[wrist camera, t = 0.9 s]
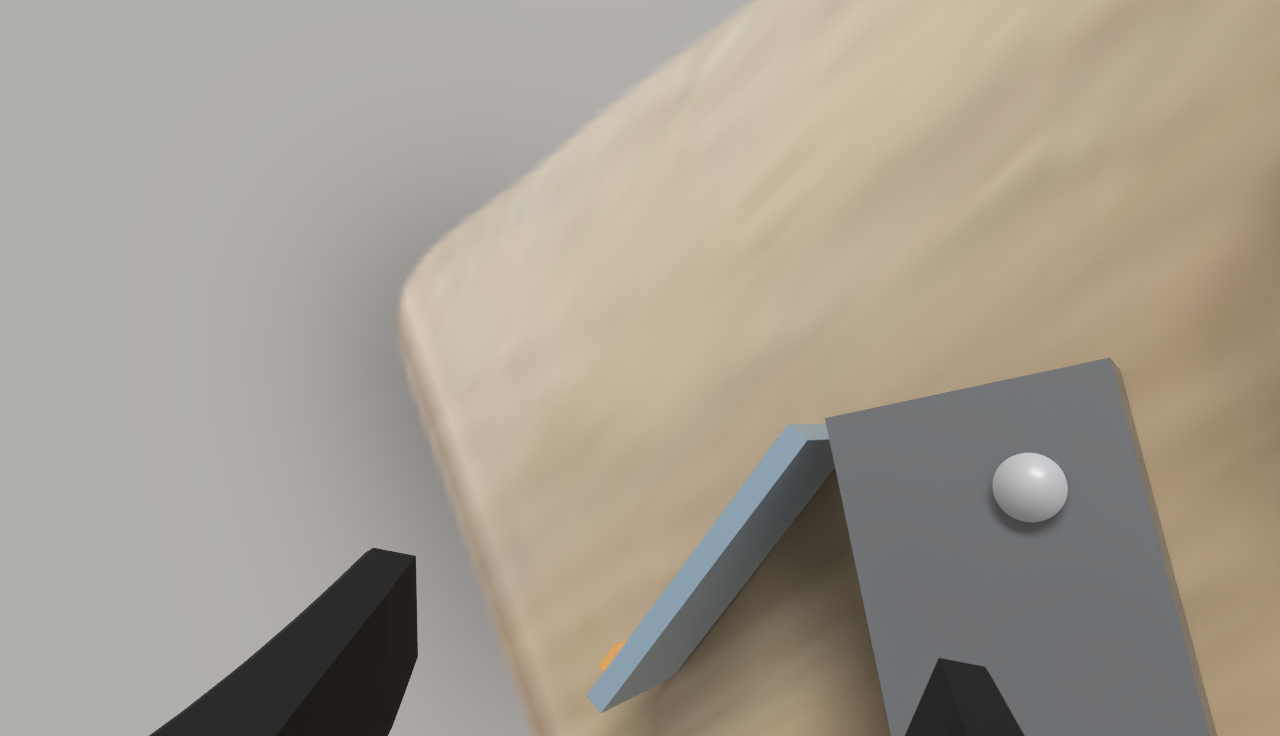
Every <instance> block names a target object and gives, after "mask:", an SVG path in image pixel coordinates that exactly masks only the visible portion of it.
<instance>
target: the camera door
mask: <svg viewBox="0 0 1280 736" xmlns="http://www.w3.org/2000/svg"><path fill="white" fill-rule="evenodd" d="M834 468H835V464H834V460H833V455H832V450H831V445H830V440H829V435H828V431H827V426H826V424H788V425H787V427H786V428H785V429H784V431H783V432H782V434H781V435H780V436H779V438H778V439H777V440H776V442H775V443H774V444H773V446H772V447H771V448H770V450H769V451H768V452H767V454H766V455H765V456H764V458H763V459H762V460H761V462H760V463H759V464H758V466H757V467H756V468H755V470H754V471H753V472H752V474H751V475H750V477H749V478H748V479H747V481H746V482H745V483H744V485H743V486H742V487H741V489H740V490H739V491H738V493H737V494H736V495H735V497H734V498H733V499H732V501H731V502H730V503H729V505H728V506H727V507H726V509H725V510H724V511H723V513H722V514H721V516H720V517H719V518H718V520H717V521H716V522H715V524H714V525H713V526H712V528H711V529H710V530H709V532H708V533H707V534H706V536H705V537H704V538H703V540H702V541H701V542H700V544H699V545H698V546H697V548H696V549H695V550H694V552H693V553H692V554H691V556H690V557H689V559H688V560H687V561H686V563H685V564H684V565H683V567H682V568H681V569H680V571H679V572H678V573H677V575H676V576H675V577H674V579H673V580H672V581H671V583H670V584H669V585H668V587H667V588H666V589H665V591H664V592H663V593H662V595H661V596H660V598H659V599H658V600H657V602H656V603H655V604H654V606H653V607H652V608H651V610H650V611H649V612H648V614H647V615H646V616H645V618H644V619H643V620H642V622H641V623H640V624H639V626H638V627H637V628H636V630H635V631H634V632H633V634H632V635H631V636H630V638H629V639H628V640H626V641H623V642H621V643H618V644H616V645H613V647H612V648H611V649H610V651H609V652H608V653H607V655H606V656H605V657H604V659H603V660H602V662H601V663H600V664H599V667H600V668H601V669H602V671H603V672H604V673H603V674H602V675H601V677H600V678H599V679H598V681H597V682H596V684H595V685H594V686H593V688H592V689H591V690H590V692H589V693H588V694H587V697H588V698H589V700H590V701H591V702H592V703H593V704H594V705H595V707H596V708H597V709H598V710H599V711H600V712H601V713H602V712H604V711H606V710H608V709H610V708H612V707H614V706H616V705H618V704H620V703H622V702H624V701H626V700H628V699H630V698H632V697H634V696H636V695H638V694H640V693H642V692H644V691H646V690H648V689H650V688H651V687H653V686H655V685H657V684H659V683H661V682H663V681H665V680H667V679H669V678H671V677H673V676H674V675H675V674H676V672H677V671H678V670H679V669H680V667H681V666H682V665H683V663H684V662H685V661H686V659H687V658H688V657H689V656H690V654H691V653H692V652H693V650H694V649H695V648H696V647H697V645H698V644H699V643H700V641H701V640H702V639H703V638H704V636H705V635H706V634H707V632H708V631H709V630H710V629H711V627H712V626H713V625H714V623H715V622H716V621H717V619H718V618H719V617H720V616H721V614H722V613H723V612H724V610H725V609H726V608H727V607H728V605H729V604H730V603H731V601H732V600H733V599H734V598H735V596H736V595H737V594H738V592H739V591H740V590H741V588H742V587H743V586H744V585H745V583H746V582H747V581H748V579H749V578H750V577H751V576H752V574H753V573H754V572H755V570H756V569H757V568H758V567H759V565H760V564H761V563H762V561H763V560H764V559H765V558H766V556H767V555H768V554H769V552H770V551H771V550H772V548H773V547H774V546H775V545H776V543H777V542H778V541H779V539H780V538H781V537H782V536H783V534H784V533H785V532H786V530H787V529H788V528H789V527H790V525H791V524H792V523H793V521H794V520H795V519H796V517H797V516H798V515H799V514H800V512H801V511H802V510H803V508H804V507H805V506H806V505H807V503H808V502H809V501H810V499H811V498H812V497H813V496H814V494H815V493H816V492H817V490H818V489H819V488H820V486H821V485H822V484H823V483H824V481H825V480H826V479H827V477H828V476H829V475H830V474H831V472H832V471H833V470H834Z"/></svg>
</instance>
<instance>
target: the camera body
mask: <svg viewBox="0 0 1280 736" xmlns="http://www.w3.org/2000/svg"><path fill="white" fill-rule="evenodd" d="M825 421H826V426H827V431H828V435H829V440H830V445H831V450H832V455H833V460H834V464H835V469H836V474H837V479H838V484H839V488H840V493H841V498H842V503H843V508H844V513H845V517H846V522H847V527H848V532H849V537H850V542H851V546H852V551H853V556H854V561H855V566H856V570H857V575H858V580H859V585H860V590H861V595H862V599H863V604H864V609H865V614H866V619H867V623H868V628H869V633H870V638H871V643H872V648H873V652H874V657H875V662H876V667H877V672H878V677H879V681H880V686H881V691H882V696H883V701H884V705H885V710H886V715H887V720H888V725H889V730H890V734H891V736H905V734H906V732H907V729H908V727H909V725H910V722H911V720H912V718H913V716H914V713H915V711H916V709H917V706H918V704H919V702H920V700H921V697H922V695H923V693H924V690H925V688H926V686H927V683H928V681H929V679H930V677H931V674H932V672H933V670H934V667H935V665H936V663H937V661H938V658H943V659H948V660H953V661H958V662H964V663H969V664H974V665H979V666H984V667H986V669H987V670H988V672H989V673H990V675H991V677H992V678H993V680H994V682H995V684H996V685H997V687H998V689H999V691H1000V693H1001V694H1002V696H1003V698H1004V700H1005V702H1006V703H1007V705H1008V707H1009V709H1010V710H1011V712H1012V714H1013V716H1014V718H1015V719H1016V721H1017V723H1018V725H1019V726H1020V728H1021V730H1022V732H1023V733H1024V735H1025V736H1217V735H1216V731H1215V727H1214V724H1213V720H1212V716H1211V712H1210V708H1209V705H1208V701H1207V697H1206V693H1205V690H1204V686H1203V682H1202V678H1201V674H1200V671H1199V667H1198V663H1197V659H1196V656H1195V652H1194V648H1193V644H1192V640H1191V637H1190V633H1189V629H1188V625H1187V622H1186V618H1185V614H1184V610H1183V606H1182V603H1181V599H1180V595H1179V591H1178V588H1177V584H1176V580H1175V576H1174V572H1173V569H1172V565H1171V561H1170V557H1169V554H1168V550H1167V546H1166V542H1165V538H1164V535H1163V531H1162V527H1161V523H1160V520H1159V516H1158V512H1157V508H1156V504H1155V501H1154V497H1153V493H1152V489H1151V486H1150V482H1149V478H1148V474H1147V470H1146V467H1145V463H1144V459H1143V455H1142V451H1141V448H1140V444H1139V440H1138V436H1137V433H1136V429H1135V425H1134V421H1133V417H1132V414H1131V410H1130V406H1129V402H1128V399H1127V395H1126V391H1125V387H1124V383H1123V380H1122V376H1121V372H1120V369H1119V368H1118V367H1117V366H1116V365H1115V363H1114V362H1113V361H1112V360H1111V358H1107V359H1102V360H1097V361H1093V362H1088V363H1083V364H1079V365H1074V366H1069V367H1065V368H1060V369H1055V370H1050V371H1046V372H1041V373H1036V374H1032V375H1027V376H1022V377H1018V378H1013V379H1008V380H1003V381H999V382H994V383H989V384H985V385H980V386H975V387H971V388H966V389H961V390H956V391H952V392H947V393H942V394H938V395H933V396H928V397H923V398H919V399H914V400H909V401H905V402H900V403H895V404H891V405H886V406H881V407H876V408H872V409H867V410H862V411H858V412H853V413H848V414H844V415H839V416H834V417H829V418H825Z"/></svg>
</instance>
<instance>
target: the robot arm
mask: <svg viewBox="0 0 1280 736" xmlns="http://www.w3.org/2000/svg"><path fill="white" fill-rule="evenodd" d="M417 657H418V648H417V598H416V556H412V555H408V554H402V553H397V552H392V551H387V550H382V549H377V548H372V549H371V550H369V551H367V552H366V553H365V554H364V555H363V556H362V557H361V558H360V559H359V560H357V561H356V562H355V563H354V564H353V565H352V566H351V567H350V568H349V569H348V570H347V571H346V572H345V573H344V574H343V575H342V576H341V577H340V578H339V579H338V580H337V581H335V582H334V583H333V584H332V585H331V586H330V587H329V588H328V589H327V590H326V591H325V592H324V593H323V594H322V595H321V596H319V597H318V598H317V599H316V600H315V601H314V602H313V603H312V604H311V605H310V606H309V607H307V608H306V609H305V610H304V611H303V612H302V613H301V614H300V615H299V616H298V617H296V618H295V619H294V620H293V621H292V622H291V623H290V624H288V625H287V626H286V627H285V628H284V629H283V630H282V631H280V632H279V633H278V634H277V635H276V636H275V637H273V638H272V639H271V640H270V641H269V642H268V643H267V644H265V645H264V646H263V647H262V648H261V649H260V650H258V651H257V652H256V653H255V654H254V655H253V656H251V657H250V658H249V659H248V660H247V661H245V662H244V663H243V664H242V665H241V666H239V667H238V668H237V669H236V670H234V671H233V672H232V673H231V674H229V675H228V676H227V677H226V678H225V679H223V680H222V681H220V682H219V683H218V684H217V685H216V686H214V687H213V688H212V689H210V690H209V691H208V692H207V693H205V694H204V695H203V696H201V697H200V698H199V699H198V700H196V701H195V702H194V703H193V704H191V705H190V706H189V707H188V708H186V709H185V710H184V711H182V712H181V713H180V714H178V715H177V716H176V717H174V718H173V719H171V720H170V721H169V722H167V723H166V724H165V725H163V726H162V727H161V728H159V729H158V730H156V731H155V732H154V733H152V734H151V735H150V736H388V734H389V732H390V730H391V728H392V725H393V723H394V720H395V717H396V715H397V712H398V709H399V707H400V704H401V702H402V699H403V696H404V694H405V690H406V688H407V685H408V682H409V679H410V676H411V674H412V671H413V668H414V665H415V663H416V660H417ZM905 736H1025V735H1024V733H1023V732H1022V730H1021V728H1020V726H1019V725H1018V723H1017V721H1016V719H1015V718H1014V716H1013V714H1012V712H1011V710H1010V709H1009V707H1008V705H1007V703H1006V702H1005V700H1004V698H1003V696H1002V694H1001V693H1000V691H999V689H998V687H997V685H996V684H995V682H994V680H993V678H992V677H991V675H990V673H989V672H988V670H987V669H986V667H984V666H979V665H974V664H969V663H964V662H958V661H953V660H948V659H943V658H938V661H937V663H936V665H935V667H934V670H933V672H932V674H931V677H930V679H929V681H928V683H927V686H926V688H925V690H924V693H923V695H922V697H921V700H920V702H919V704H918V706H917V709H916V711H915V713H914V716H913V718H912V720H911V722H910V725H909V727H908V729H907V732H906V734H905Z"/></svg>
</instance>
